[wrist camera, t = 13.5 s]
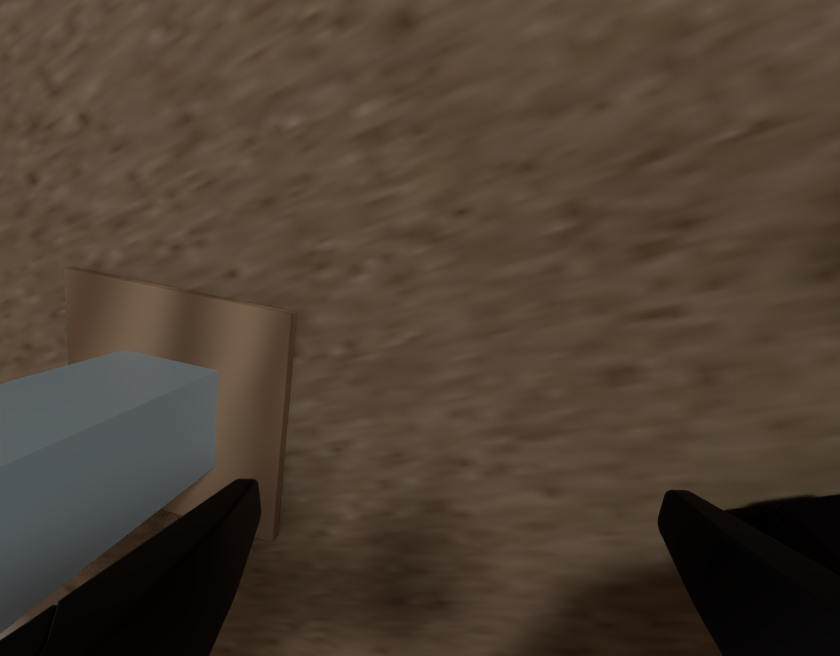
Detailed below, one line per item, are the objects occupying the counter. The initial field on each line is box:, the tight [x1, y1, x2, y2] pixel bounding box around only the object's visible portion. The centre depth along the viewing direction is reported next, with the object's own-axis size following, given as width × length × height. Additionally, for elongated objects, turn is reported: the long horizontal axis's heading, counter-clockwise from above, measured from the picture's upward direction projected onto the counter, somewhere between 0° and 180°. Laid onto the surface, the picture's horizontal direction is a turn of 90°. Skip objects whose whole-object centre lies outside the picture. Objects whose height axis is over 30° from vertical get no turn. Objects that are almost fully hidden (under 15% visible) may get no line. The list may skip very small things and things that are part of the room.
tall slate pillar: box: [0, 350, 218, 633], centre depth 17 cm, size 6×6×12 cm
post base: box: [64, 267, 297, 542], centre depth 21 cm, size 14×14×5 cm
